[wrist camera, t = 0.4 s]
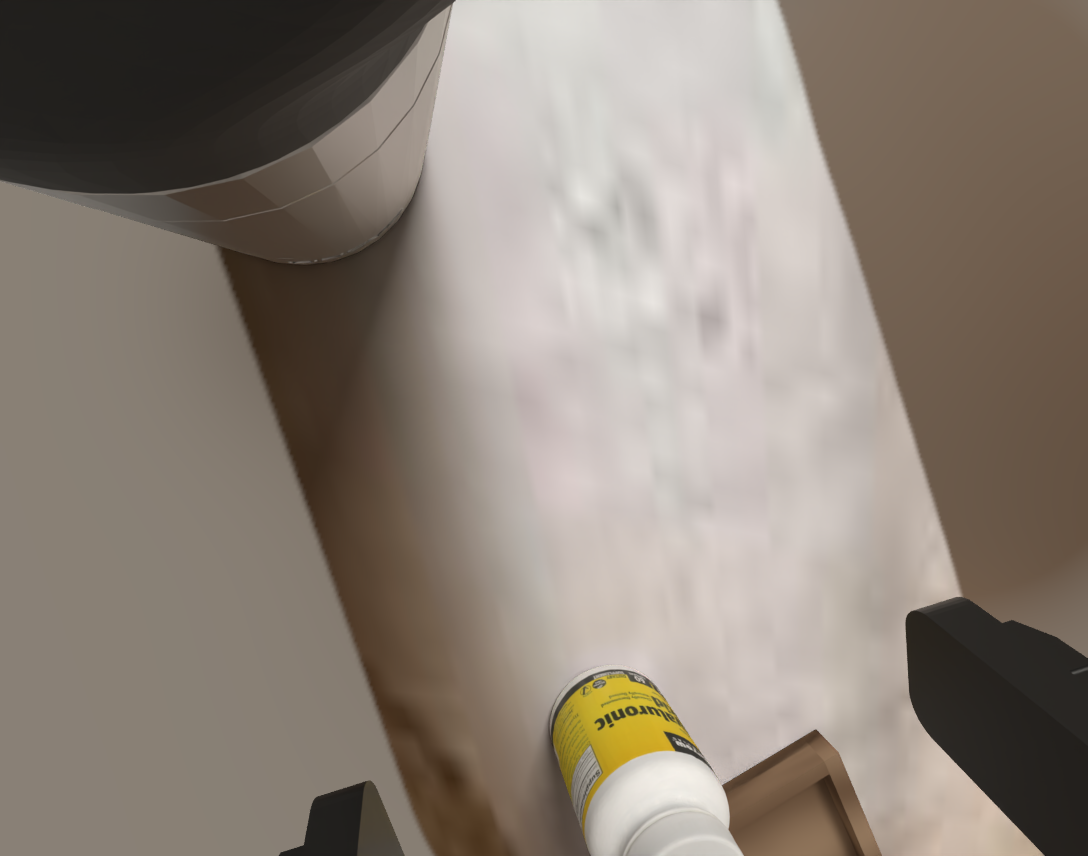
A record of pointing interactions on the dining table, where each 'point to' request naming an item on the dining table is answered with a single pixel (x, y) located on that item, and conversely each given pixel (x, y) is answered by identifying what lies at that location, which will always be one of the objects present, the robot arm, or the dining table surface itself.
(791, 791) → the tray
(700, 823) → the supplement bottle
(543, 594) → the dining table surface
